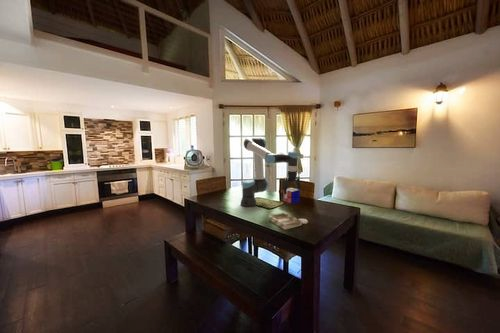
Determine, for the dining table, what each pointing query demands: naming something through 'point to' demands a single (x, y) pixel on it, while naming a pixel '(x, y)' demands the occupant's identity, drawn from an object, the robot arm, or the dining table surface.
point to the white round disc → (304, 221)
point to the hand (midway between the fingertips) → (291, 197)
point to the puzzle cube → (292, 196)
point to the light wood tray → (285, 220)
